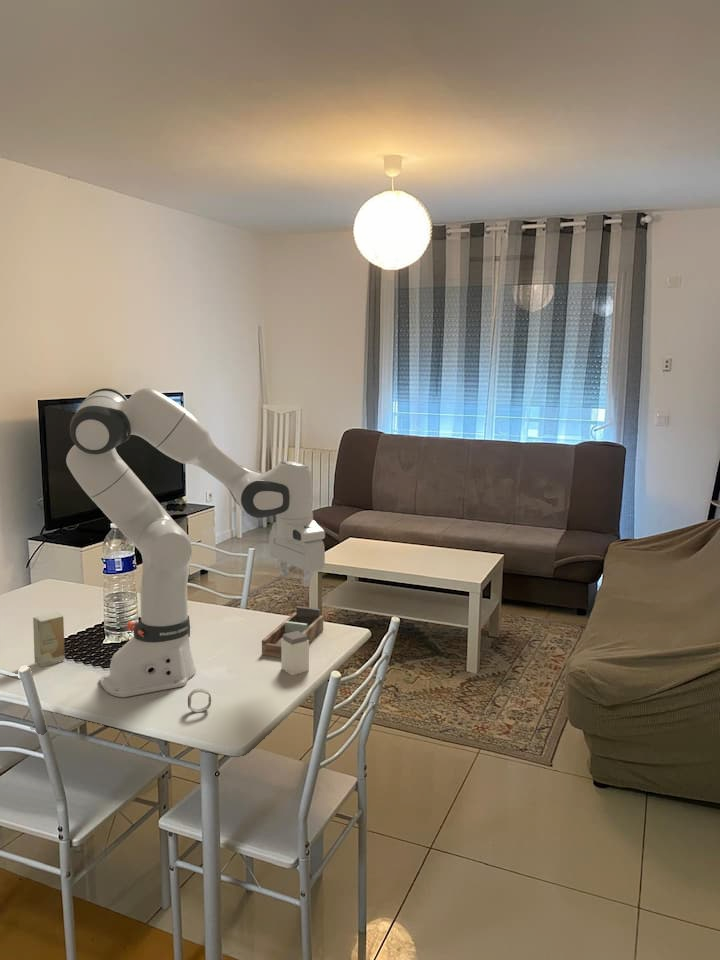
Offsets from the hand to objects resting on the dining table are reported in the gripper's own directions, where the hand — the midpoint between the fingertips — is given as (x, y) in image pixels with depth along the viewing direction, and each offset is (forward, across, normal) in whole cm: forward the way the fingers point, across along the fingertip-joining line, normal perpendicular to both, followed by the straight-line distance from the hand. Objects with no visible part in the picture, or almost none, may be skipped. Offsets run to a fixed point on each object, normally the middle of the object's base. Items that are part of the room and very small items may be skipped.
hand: (295, 581), depth 178 cm
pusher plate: (+22, -17, +11) cm, 30 cm away
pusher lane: (+23, -16, +10) cm, 30 cm away
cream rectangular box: (+23, 0, 0) cm, 23 cm away
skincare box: (+23, -41, -48) cm, 67 cm away
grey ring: (+23, +6, -29) cm, 38 cm away
